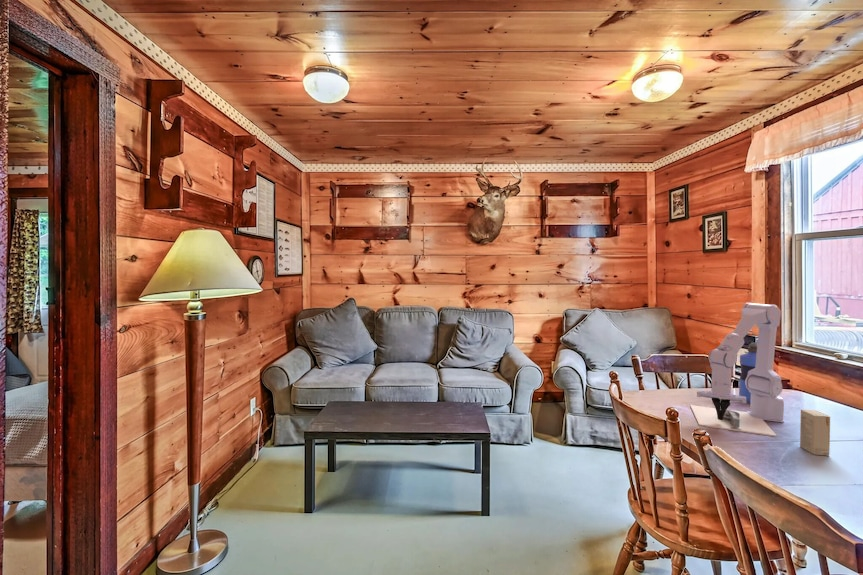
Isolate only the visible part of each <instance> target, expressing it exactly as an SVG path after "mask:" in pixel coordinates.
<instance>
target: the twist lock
mask: <svg viewBox="0 0 863 575" xmlns="http://www.w3.org/2000/svg"><path fill="white" fill-rule="evenodd" d="M731 410H732V409H727V410H726V412H725V414H724V416H723V419H725V420H730V422H731V423H732V424H733V426H734V427H739V421H740V419H739V416H740V414H739V413H738V412H735V411H736V410H733V411H731Z"/></svg>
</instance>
